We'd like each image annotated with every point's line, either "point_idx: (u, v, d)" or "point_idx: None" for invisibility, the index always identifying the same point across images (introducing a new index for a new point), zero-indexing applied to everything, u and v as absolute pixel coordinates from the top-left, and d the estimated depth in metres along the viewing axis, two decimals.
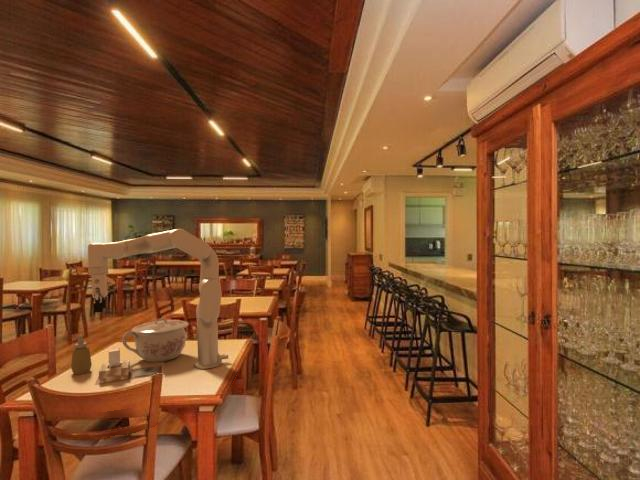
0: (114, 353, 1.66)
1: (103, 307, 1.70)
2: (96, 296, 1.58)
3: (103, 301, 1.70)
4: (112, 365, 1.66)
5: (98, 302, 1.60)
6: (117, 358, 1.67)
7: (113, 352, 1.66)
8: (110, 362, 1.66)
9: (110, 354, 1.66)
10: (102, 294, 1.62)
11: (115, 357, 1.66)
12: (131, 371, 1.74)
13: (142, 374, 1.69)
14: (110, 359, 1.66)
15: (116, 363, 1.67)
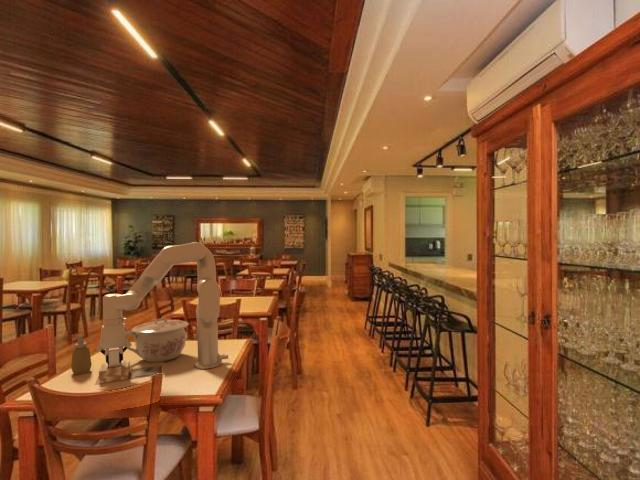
0: (114, 353, 1.66)
1: None
2: (129, 346, 1.70)
3: None
4: (112, 365, 1.66)
5: (123, 352, 1.70)
6: (117, 358, 1.67)
7: (113, 352, 1.66)
8: (110, 362, 1.66)
9: (110, 354, 1.66)
10: None
11: (115, 357, 1.66)
12: (131, 371, 1.74)
13: (142, 374, 1.69)
14: (110, 359, 1.66)
15: (116, 363, 1.67)
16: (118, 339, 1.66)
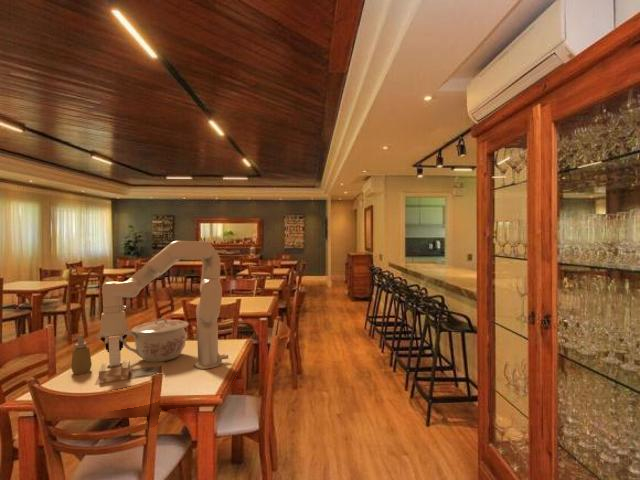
0: (114, 340, 1.66)
1: None
2: (129, 334, 1.70)
3: None
4: (112, 352, 1.66)
5: (123, 339, 1.70)
6: (117, 345, 1.67)
7: (113, 339, 1.66)
8: (110, 349, 1.66)
9: (110, 341, 1.66)
10: None
11: (115, 344, 1.66)
12: (131, 371, 1.74)
13: (142, 374, 1.69)
14: (110, 346, 1.66)
15: (116, 350, 1.67)
16: (118, 326, 1.66)
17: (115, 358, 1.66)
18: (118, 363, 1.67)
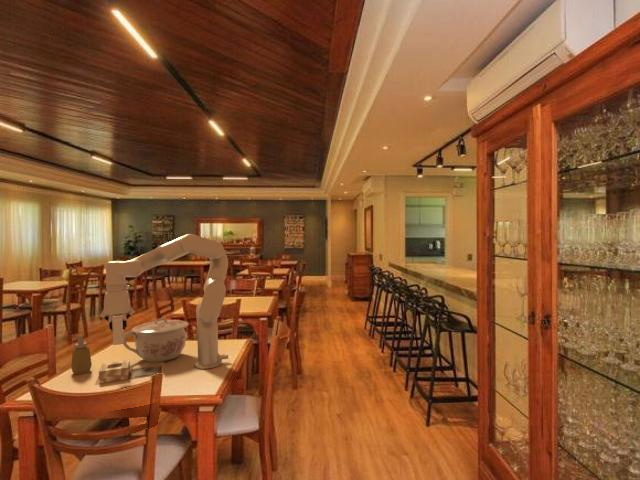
0: (118, 319, 1.67)
1: None
2: (133, 313, 1.71)
3: None
4: (116, 331, 1.66)
5: None
6: (121, 324, 1.67)
7: (117, 318, 1.67)
8: (114, 328, 1.66)
9: (114, 320, 1.66)
10: None
11: (119, 323, 1.67)
12: (131, 371, 1.74)
13: (142, 374, 1.69)
14: (114, 325, 1.66)
15: (120, 329, 1.67)
16: (121, 305, 1.67)
17: (119, 337, 1.67)
18: (122, 342, 1.67)
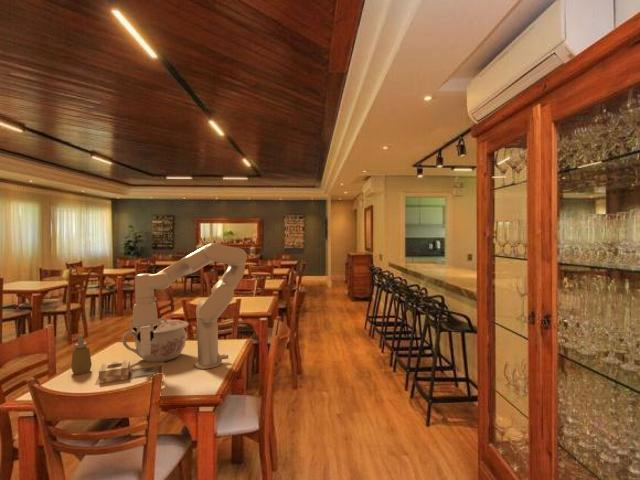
0: (145, 331, 1.71)
1: None
2: None
3: None
4: (143, 342, 1.71)
5: None
6: (148, 336, 1.72)
7: (145, 330, 1.71)
8: (142, 339, 1.70)
9: (142, 331, 1.70)
10: None
11: (146, 334, 1.71)
12: (131, 371, 1.74)
13: (142, 374, 1.69)
14: (142, 336, 1.70)
15: (148, 340, 1.71)
16: (149, 317, 1.71)
17: (146, 348, 1.71)
18: (149, 353, 1.72)
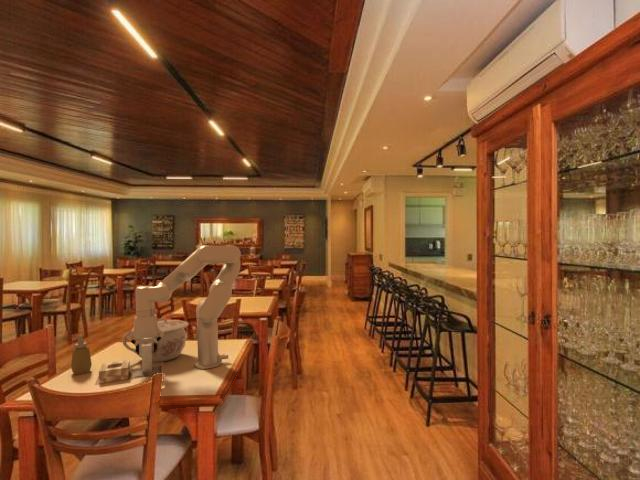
0: (147, 348, 1.71)
1: None
2: (163, 335, 1.76)
3: None
4: (145, 360, 1.71)
5: (157, 341, 1.75)
6: (149, 353, 1.72)
7: (146, 347, 1.71)
8: (143, 357, 1.71)
9: (143, 349, 1.71)
10: None
11: (148, 352, 1.71)
12: (131, 371, 1.74)
13: (142, 374, 1.69)
14: (143, 354, 1.71)
15: (149, 358, 1.72)
16: (150, 330, 1.71)
17: (148, 366, 1.71)
18: (150, 370, 1.72)
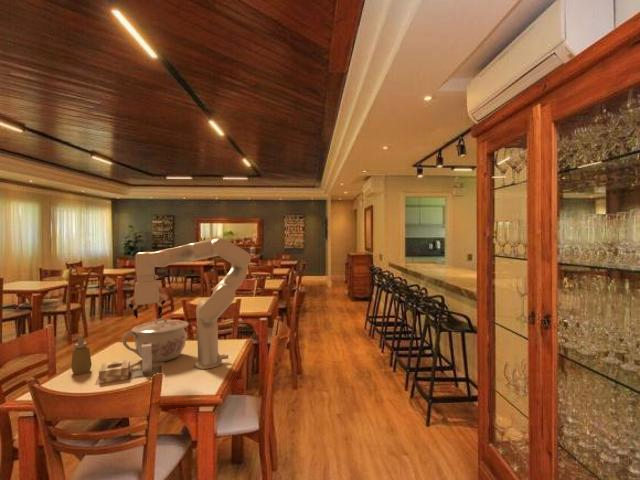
0: (147, 348, 1.71)
1: (137, 316, 1.72)
2: (166, 298, 1.76)
3: None
4: (145, 360, 1.71)
5: None
6: (149, 353, 1.72)
7: (146, 347, 1.71)
8: (143, 357, 1.71)
9: (143, 349, 1.71)
10: None
11: (148, 352, 1.71)
12: (131, 371, 1.74)
13: (142, 374, 1.69)
14: (143, 354, 1.71)
15: (149, 358, 1.72)
16: (151, 295, 1.72)
17: (148, 366, 1.71)
18: (150, 370, 1.72)
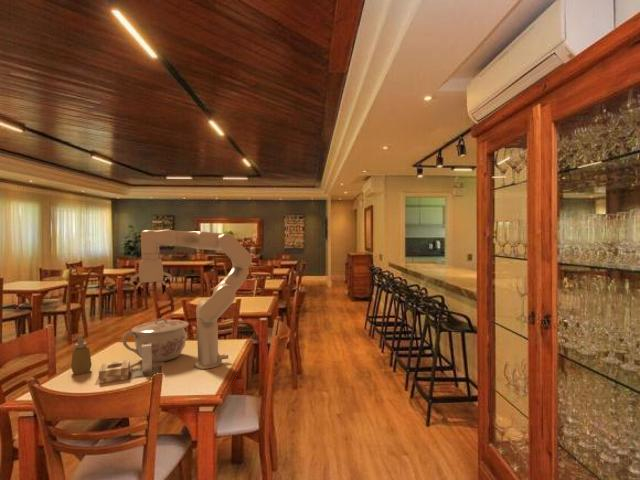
0: (147, 348, 1.71)
1: None
2: (170, 277, 1.77)
3: None
4: (145, 360, 1.71)
5: (166, 283, 1.76)
6: (149, 353, 1.72)
7: (146, 347, 1.71)
8: (143, 357, 1.71)
9: (143, 349, 1.71)
10: None
11: (148, 352, 1.71)
12: (131, 371, 1.74)
13: (142, 374, 1.69)
14: (143, 354, 1.71)
15: (149, 358, 1.72)
16: (156, 273, 1.72)
17: (148, 366, 1.71)
18: (150, 370, 1.72)
